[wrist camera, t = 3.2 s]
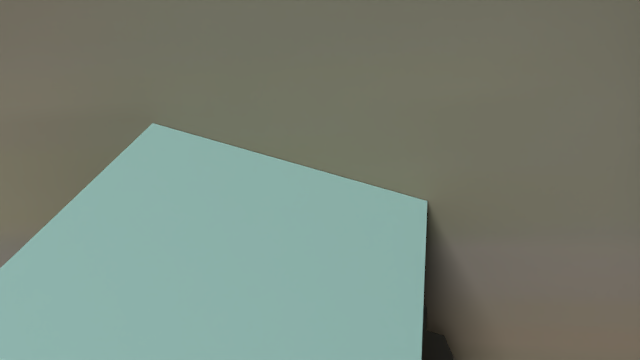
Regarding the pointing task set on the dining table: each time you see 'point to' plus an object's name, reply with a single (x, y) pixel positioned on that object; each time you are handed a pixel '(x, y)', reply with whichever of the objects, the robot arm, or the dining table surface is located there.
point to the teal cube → (218, 263)
